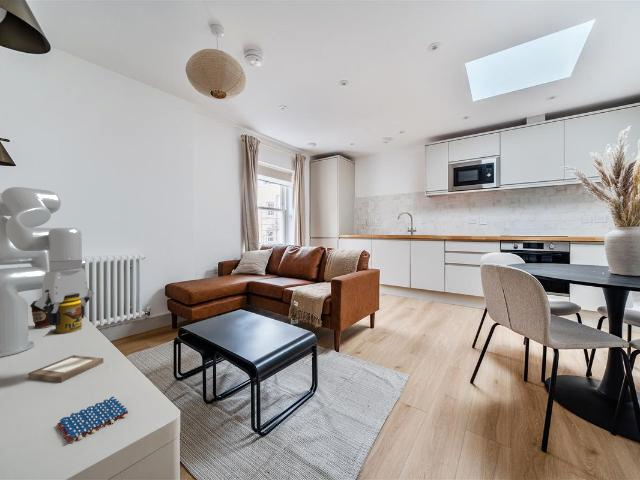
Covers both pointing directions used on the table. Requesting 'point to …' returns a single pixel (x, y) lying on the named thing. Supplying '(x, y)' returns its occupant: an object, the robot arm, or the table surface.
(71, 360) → the picture frame
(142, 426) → the table surface
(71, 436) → the woven mat
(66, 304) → the condiment
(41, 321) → the coffee cup
